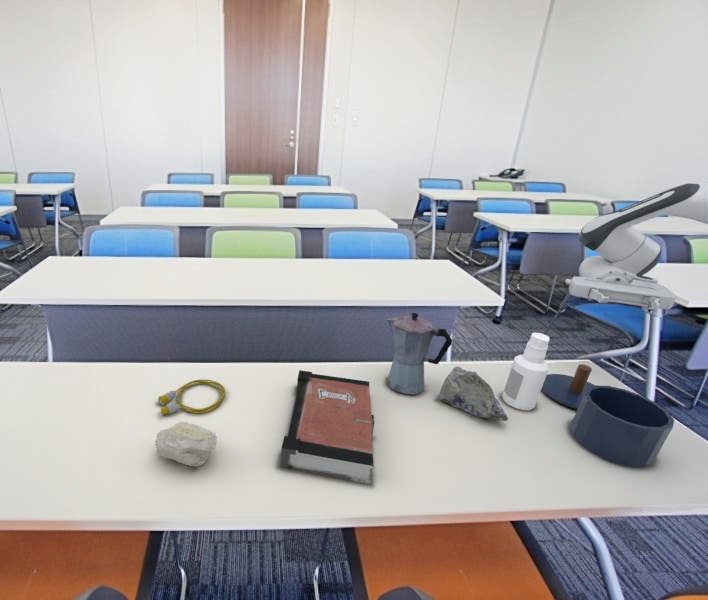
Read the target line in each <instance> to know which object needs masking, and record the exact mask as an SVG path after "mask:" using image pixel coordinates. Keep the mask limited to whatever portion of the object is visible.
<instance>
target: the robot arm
mask: <svg viewBox="0 0 708 600" xmlns="http://www.w3.org/2000/svg"><path fill="white" fill-rule="evenodd" d="M665 216H671V217H678V218H683V219H684V218H685V219H689V220H693V221H696V222H699V223H702V224H706V225H708V182H703V183H684V184H681V185H678V186H675V187H671V188H669V189H667V190H665V191H661V192H659V193H656V194H654V195H651V196H649V197H647V198H644V199H642V200H640V201H637V202H635V203H632V204H630V205H628V206H625V207H622V208H620V209H618V210H614V211H610V212H608V213H603V214H600V215H598V216H596V217H594V218H592V219H591V220H590V221H588V222H587V223H586V224H585V225H584V226H582V228H581V230H580V243H581V245H582V246H583V247H585V248H586V249H589V250H591V251H593V252H595V253H596V254H598V255H591V256H589V257H586V258H585V259H584V260H583V261H582V262H581V264H580V265H579V267H578V276H573V277H572V278H566V279H565V280H564V282H565V284H566V285H567V286H569V287H568V292H569V294H570V296H572V297H577V298H583V299H588V300H589V299H590V300H595V301H597V302H598V303H599V304H608V303H617V304H623V305H624V304H625V305H631V306H638V307H645V308H646V309H647V310H648V311H654V312H657V311H659V310H665V311H667V310H670V309H672V308H673V306H674V304H675V302H676V298H677V295H676V294H675V293H673V292H672V291H671V289H669V288H667V287H666V286H664V285H662V284H659V280H657V278H654V277H651V276H647V275H646V274H647V273H649V272H650V271H652V270H653V269H654V268H655V267H656V266H657V265H658V263H659V261H660V259H661V255H662V246H661V245H660V244H659V243H657V242H656V241H654V240H653V239H651V238H650V237H648V236H647V235H646V234H643V233H642V232H640V231H639V230H638V229H636V228H635V227H633V226H635V225H638V224H640V223H644V222H647V221H649V220H653V219H655V218H658V217H665ZM645 275H646V276H645Z"/></svg>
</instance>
